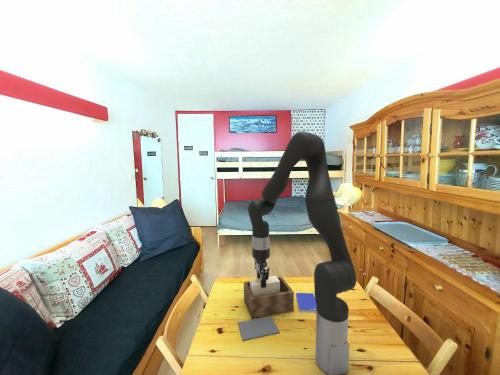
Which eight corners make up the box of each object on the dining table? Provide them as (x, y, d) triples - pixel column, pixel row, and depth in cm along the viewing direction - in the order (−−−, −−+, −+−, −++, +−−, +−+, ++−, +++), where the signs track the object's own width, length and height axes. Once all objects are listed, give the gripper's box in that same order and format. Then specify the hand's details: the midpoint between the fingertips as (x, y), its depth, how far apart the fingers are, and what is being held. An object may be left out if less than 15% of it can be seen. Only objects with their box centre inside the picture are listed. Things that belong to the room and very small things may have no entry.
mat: (279, 333, 85) (279, 331, 85) (242, 341, 81) (242, 339, 81) (271, 316, 93) (271, 315, 93) (237, 323, 90) (237, 322, 90)
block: (253, 297, 95) (252, 285, 95) (250, 290, 100) (249, 279, 99) (280, 292, 98) (279, 281, 98) (275, 286, 103) (275, 275, 102)
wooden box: (251, 319, 92) (251, 299, 91) (244, 299, 105) (243, 282, 104) (293, 311, 97) (293, 292, 95) (281, 293, 109) (281, 276, 108)
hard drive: (319, 310, 95) (313, 293, 107) (299, 309, 96) (295, 292, 108) (319, 314, 95) (313, 296, 108) (299, 313, 96) (295, 295, 108)
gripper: (275, 251, 90) (275, 291, 92) (264, 239, 104) (264, 274, 106) (257, 253, 89) (258, 294, 91) (248, 241, 102) (248, 277, 104)
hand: (261, 283), depth 98 cm, fingers closed on block, 5 cm apart
